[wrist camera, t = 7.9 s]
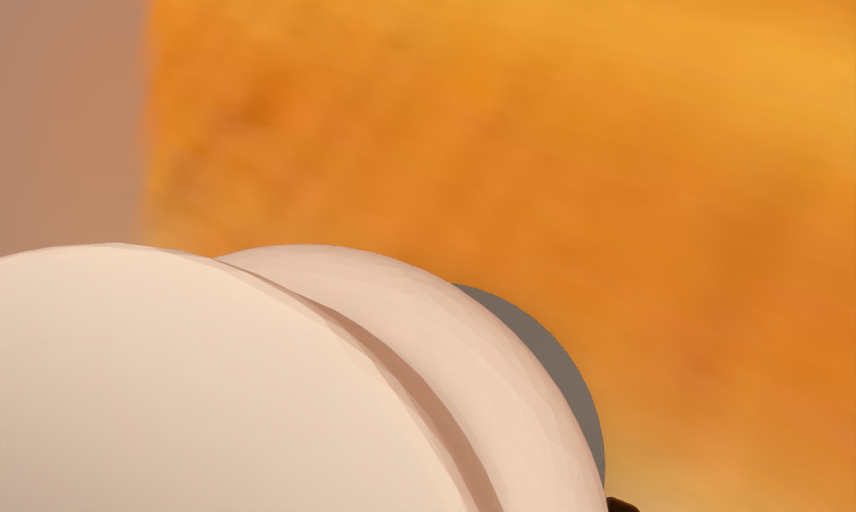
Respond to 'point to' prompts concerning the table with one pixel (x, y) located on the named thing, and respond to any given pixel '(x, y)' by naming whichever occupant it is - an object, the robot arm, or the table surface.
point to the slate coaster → (550, 366)
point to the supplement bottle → (271, 388)
